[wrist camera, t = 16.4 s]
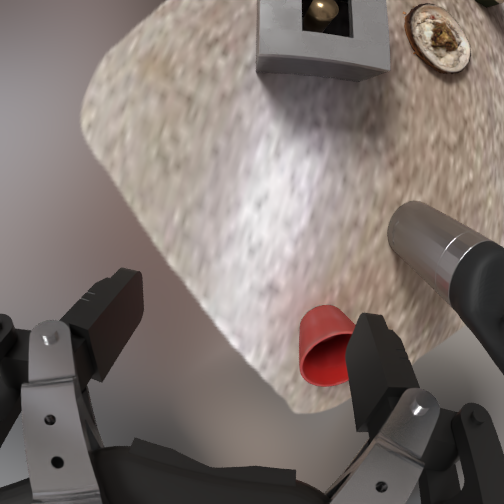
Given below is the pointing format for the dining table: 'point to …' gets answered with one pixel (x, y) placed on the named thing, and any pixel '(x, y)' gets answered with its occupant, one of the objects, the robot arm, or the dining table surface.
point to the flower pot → (324, 346)
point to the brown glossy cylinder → (319, 15)
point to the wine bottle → (489, 2)
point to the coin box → (322, 42)
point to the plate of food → (437, 38)
